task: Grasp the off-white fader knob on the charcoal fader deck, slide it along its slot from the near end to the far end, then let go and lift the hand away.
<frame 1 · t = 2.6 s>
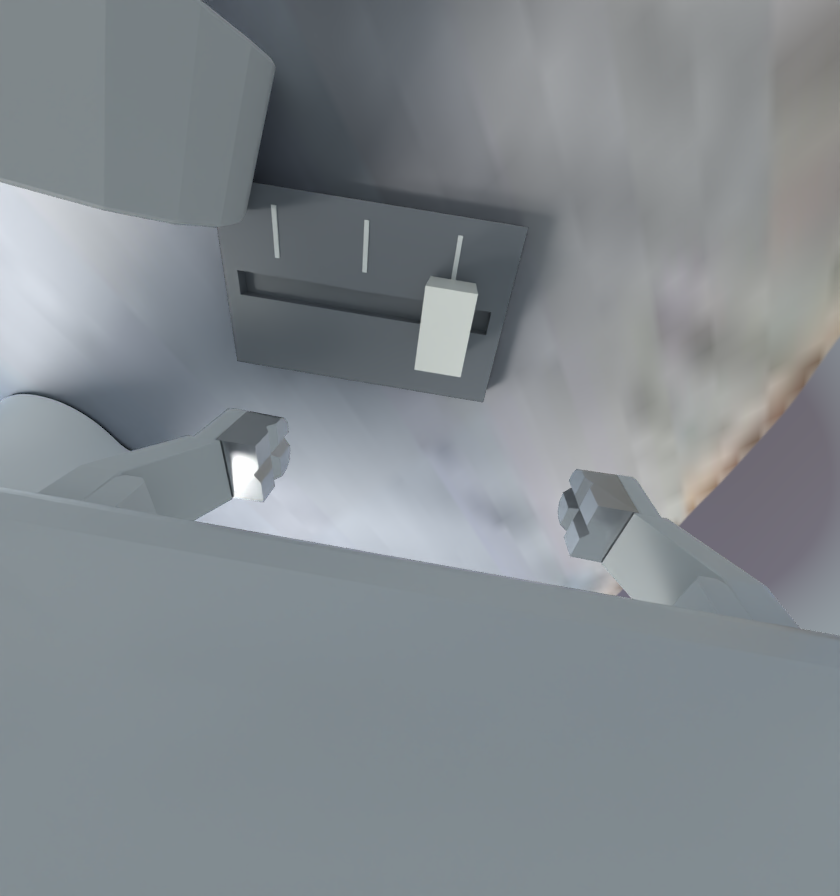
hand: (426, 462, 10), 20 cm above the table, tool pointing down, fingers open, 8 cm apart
fader knob: (445, 323, 24), point 4 cm above the table, slide at -6.0 cm
fader deck: (369, 297, 27), on the table
alarm clock: (138, 63, 22), on the table, touching fader deck
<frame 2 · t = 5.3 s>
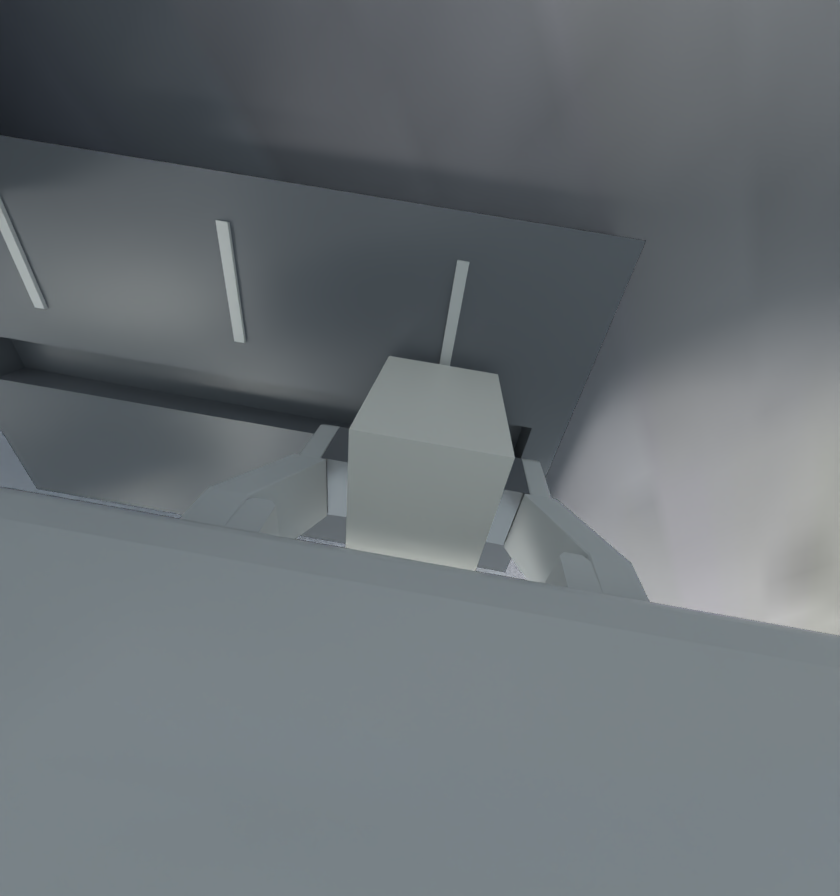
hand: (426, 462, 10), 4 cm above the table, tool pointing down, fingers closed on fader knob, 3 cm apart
fader knob: (425, 468, 10), point 4 cm above the table, slide at -6.0 cm, touching gripper
fader deck: (277, 378, 13), on the table
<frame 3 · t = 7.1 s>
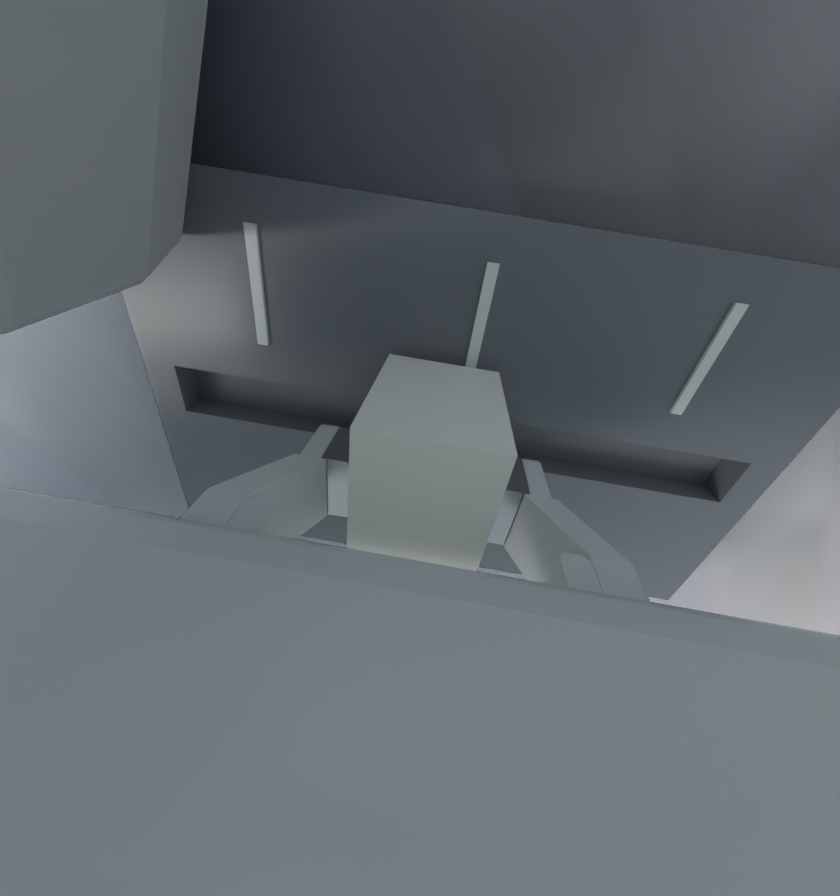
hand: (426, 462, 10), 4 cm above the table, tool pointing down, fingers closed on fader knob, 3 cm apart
fader knob: (426, 466, 10), point 4 cm above the table, slide at 0.8 cm, touching gripper
fader deck: (456, 407, 13), on the table
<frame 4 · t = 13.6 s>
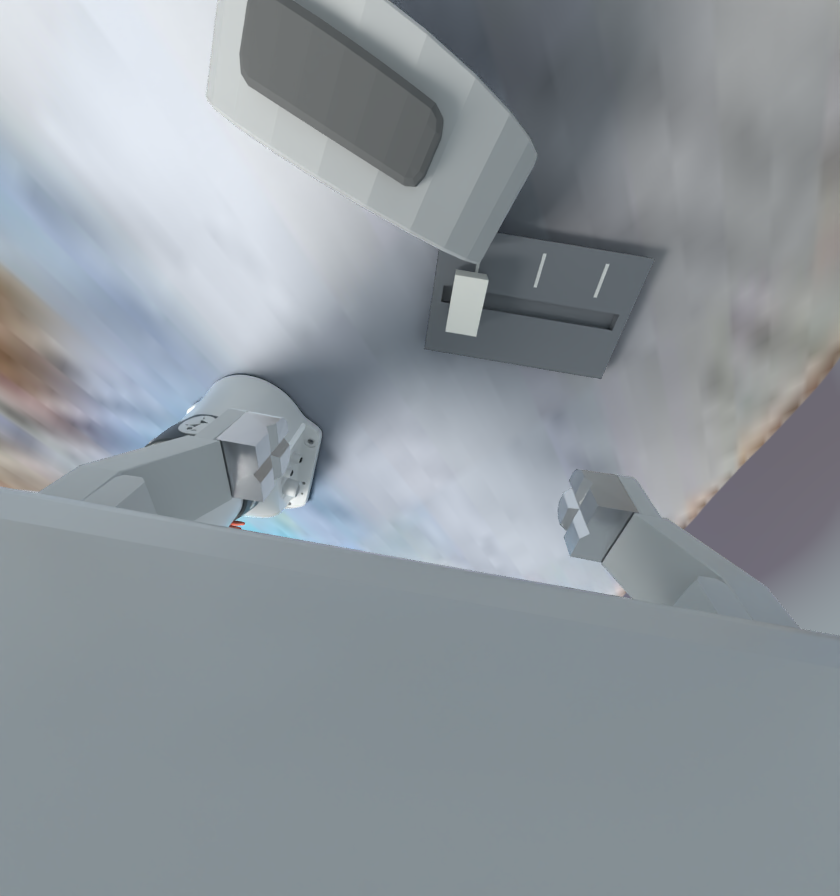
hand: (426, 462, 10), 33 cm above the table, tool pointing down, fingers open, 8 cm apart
fader knob: (465, 301, 35), point 4 cm above the table, slide at 6.5 cm
fader deck: (526, 304, 38), on the table
alarm clock: (400, 152, 33), on the table, touching fader deck
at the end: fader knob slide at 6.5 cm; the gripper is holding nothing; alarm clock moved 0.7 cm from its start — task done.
